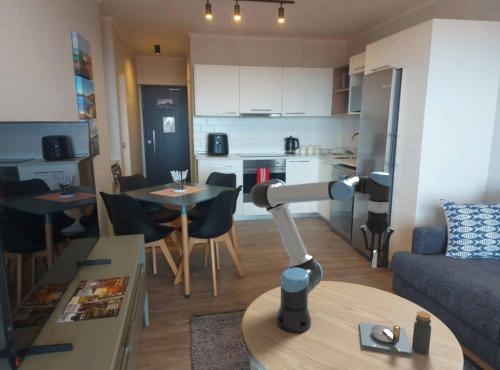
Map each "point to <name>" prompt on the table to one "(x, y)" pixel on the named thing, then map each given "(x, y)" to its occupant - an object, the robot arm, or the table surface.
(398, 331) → the dial
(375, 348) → the board
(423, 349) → the bottle
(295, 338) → the table surface
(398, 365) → the table surface
